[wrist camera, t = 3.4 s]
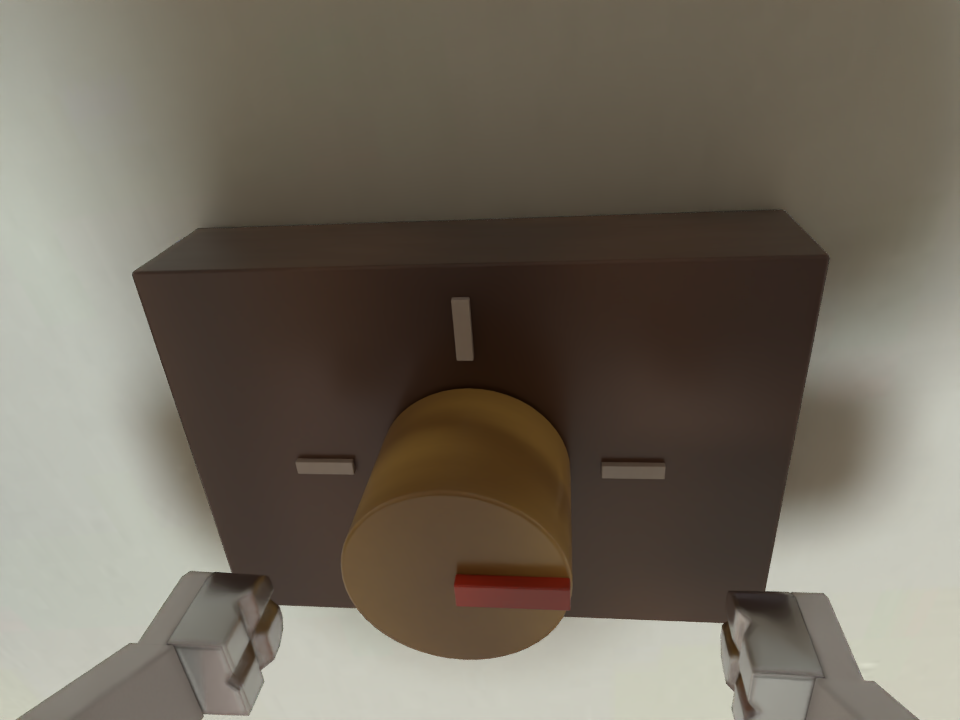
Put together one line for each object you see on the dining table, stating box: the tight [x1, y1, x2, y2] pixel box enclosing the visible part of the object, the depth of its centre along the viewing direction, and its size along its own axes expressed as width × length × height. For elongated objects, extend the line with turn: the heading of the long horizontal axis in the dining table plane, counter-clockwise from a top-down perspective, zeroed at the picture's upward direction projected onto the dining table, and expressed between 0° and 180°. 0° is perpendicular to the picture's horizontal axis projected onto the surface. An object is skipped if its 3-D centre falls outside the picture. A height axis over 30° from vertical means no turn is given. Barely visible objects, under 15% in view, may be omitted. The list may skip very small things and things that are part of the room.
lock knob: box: [341, 388, 573, 660], centre depth 14 cm, size 4×4×4 cm
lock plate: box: [132, 210, 830, 623], centre depth 17 cm, size 14×10×3 cm
